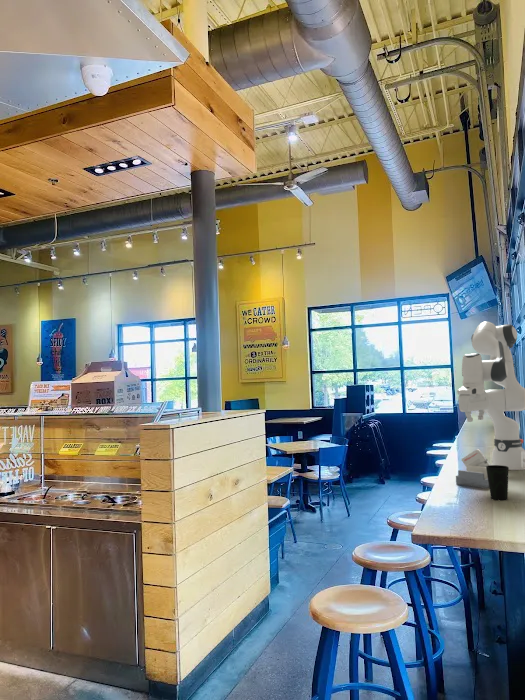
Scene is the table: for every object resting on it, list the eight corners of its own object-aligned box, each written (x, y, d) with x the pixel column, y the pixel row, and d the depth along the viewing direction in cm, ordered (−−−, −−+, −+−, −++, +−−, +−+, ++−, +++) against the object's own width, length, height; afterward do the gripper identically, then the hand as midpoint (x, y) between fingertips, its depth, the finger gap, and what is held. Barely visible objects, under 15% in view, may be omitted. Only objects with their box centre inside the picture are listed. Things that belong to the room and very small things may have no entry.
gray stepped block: (475, 478, 229) (474, 465, 230) (505, 482, 219) (504, 468, 219) (456, 484, 219) (455, 470, 220) (486, 488, 209) (485, 473, 209)
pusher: (468, 481, 223) (467, 465, 223) (491, 484, 215) (490, 467, 215) (463, 483, 220) (462, 466, 220) (486, 486, 212) (485, 469, 212)
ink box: (496, 471, 222) (479, 447, 225) (494, 473, 217) (477, 449, 221) (479, 480, 225) (462, 457, 229) (477, 483, 221) (460, 459, 225)
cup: (513, 501, 186) (511, 468, 187) (490, 501, 187) (488, 468, 188) (507, 497, 194) (505, 465, 194) (485, 496, 195) (484, 465, 196)
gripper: (478, 388, 237) (480, 418, 236) (455, 390, 224) (456, 422, 223) (491, 388, 232) (493, 418, 231) (468, 390, 219) (470, 423, 218)
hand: (475, 420), depth 227 cm, fingers open, 8 cm apart
